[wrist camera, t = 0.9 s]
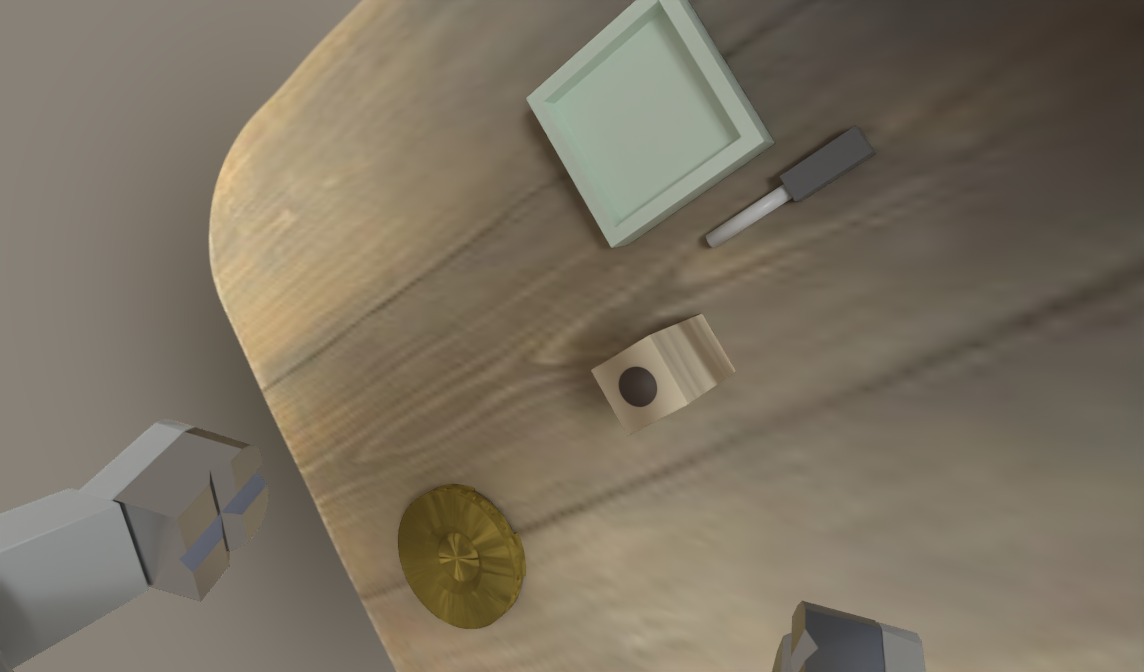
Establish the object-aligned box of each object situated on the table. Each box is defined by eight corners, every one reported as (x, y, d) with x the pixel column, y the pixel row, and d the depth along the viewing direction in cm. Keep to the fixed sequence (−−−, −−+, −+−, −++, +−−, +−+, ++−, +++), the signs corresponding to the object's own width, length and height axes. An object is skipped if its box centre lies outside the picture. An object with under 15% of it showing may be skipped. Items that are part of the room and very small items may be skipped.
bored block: (701, 313, 51) (648, 335, 44) (735, 371, 51) (687, 404, 43) (649, 344, 54) (588, 371, 46) (680, 400, 53) (625, 437, 45)
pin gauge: (860, 128, 45) (855, 125, 43) (876, 153, 45) (872, 152, 43) (707, 229, 50) (698, 230, 49) (721, 252, 50) (712, 254, 49)
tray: (678, -15, 48) (663, -25, 46) (775, 143, 47) (764, 141, 45) (544, 102, 54) (526, 98, 52) (627, 245, 53) (611, 247, 51)
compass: (395, 544, 70) (378, 554, 68) (452, 454, 65) (436, 462, 63) (484, 643, 66) (469, 656, 64) (552, 557, 61) (538, 568, 59)
